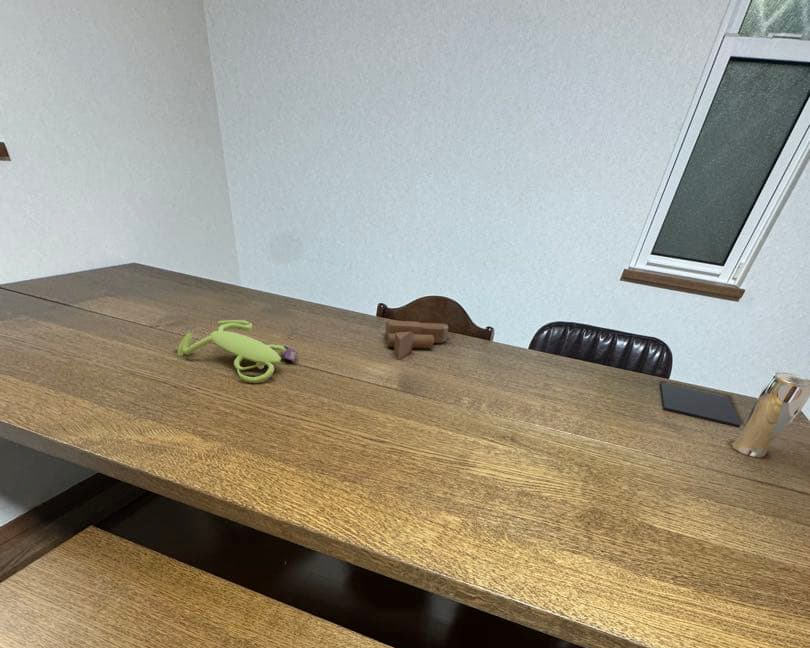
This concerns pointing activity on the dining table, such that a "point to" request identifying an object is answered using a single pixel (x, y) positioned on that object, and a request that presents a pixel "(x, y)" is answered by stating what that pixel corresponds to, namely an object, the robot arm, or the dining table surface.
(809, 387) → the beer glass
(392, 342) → the wooden block set
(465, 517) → the dining table surface
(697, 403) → the mat
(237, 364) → the figurine
